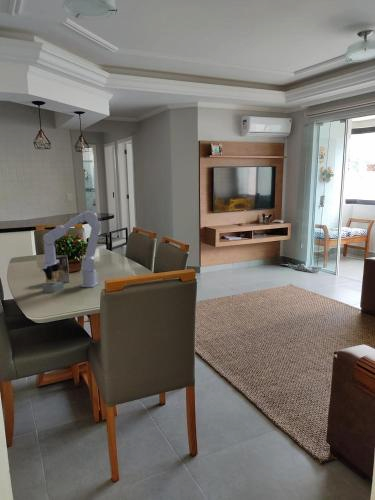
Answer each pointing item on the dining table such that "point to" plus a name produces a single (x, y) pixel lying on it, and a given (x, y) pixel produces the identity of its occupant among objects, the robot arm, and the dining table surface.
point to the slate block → (52, 287)
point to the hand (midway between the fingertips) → (52, 278)
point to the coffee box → (63, 268)
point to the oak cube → (53, 277)
